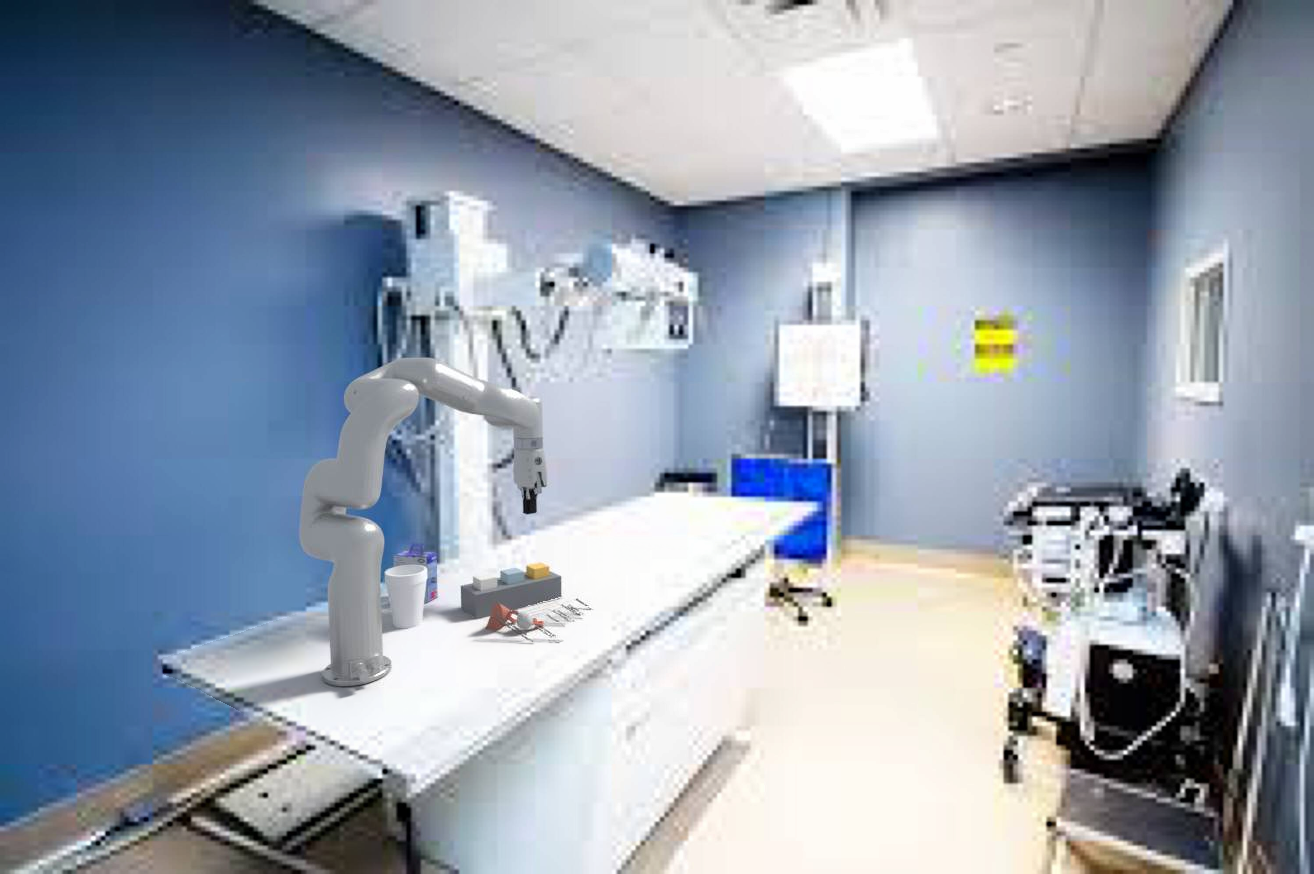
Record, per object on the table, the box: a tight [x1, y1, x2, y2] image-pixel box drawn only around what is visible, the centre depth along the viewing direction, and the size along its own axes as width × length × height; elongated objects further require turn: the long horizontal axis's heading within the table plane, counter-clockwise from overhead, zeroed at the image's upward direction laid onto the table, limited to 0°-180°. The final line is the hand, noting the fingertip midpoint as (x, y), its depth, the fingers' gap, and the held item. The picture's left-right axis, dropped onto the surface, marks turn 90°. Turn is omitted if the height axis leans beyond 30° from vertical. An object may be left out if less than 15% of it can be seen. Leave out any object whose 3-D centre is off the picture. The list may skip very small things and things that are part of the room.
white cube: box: [472, 572, 498, 591], centre depth 170 cm, size 4×4×4 cm
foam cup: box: [384, 565, 428, 630], centre depth 160 cm, size 10×9×13 cm
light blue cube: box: [499, 567, 525, 585], centre depth 175 cm, size 4×4×4 cm
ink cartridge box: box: [393, 542, 438, 604], centre depth 178 cm, size 10×6×14 cm, turn 78°
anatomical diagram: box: [485, 598, 589, 641], centre depth 163 cm, size 21×9×25 cm
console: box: [460, 570, 562, 620], centre depth 175 cm, size 9×24×6 cm, turn 130°
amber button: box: [525, 562, 550, 579], centre depth 179 cm, size 4×4×4 cm
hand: (530, 513), depth 178 cm, fingers closed
